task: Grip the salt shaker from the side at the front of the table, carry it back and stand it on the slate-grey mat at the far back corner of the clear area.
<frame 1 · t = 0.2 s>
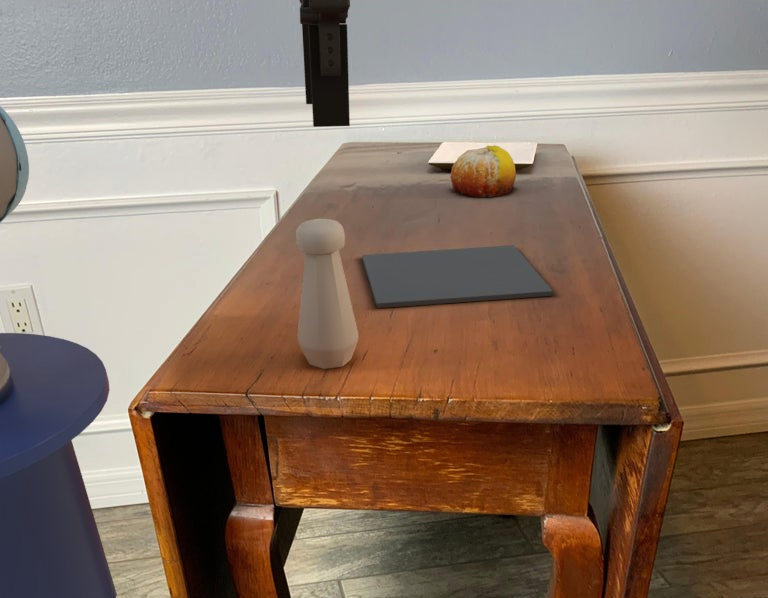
hand: (326, 114, 65), 21 cm above the table, tool pointing down, fingers open, 13 cm apart
salt shaker: (329, 361, 77), on the table
fruit: (481, 191, 131), on the table
corner mat: (450, 276, 96), on the table
plate: (484, 164, 149), on the table
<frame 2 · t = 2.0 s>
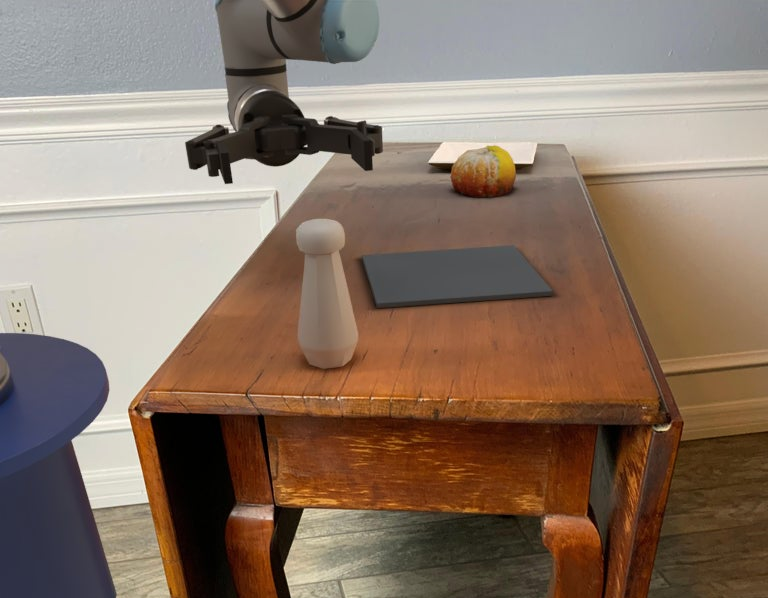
hand: (298, 162, 75), 16 cm above the table, tool horizontal, fingers open, 13 cm apart
nothing on the table moved.
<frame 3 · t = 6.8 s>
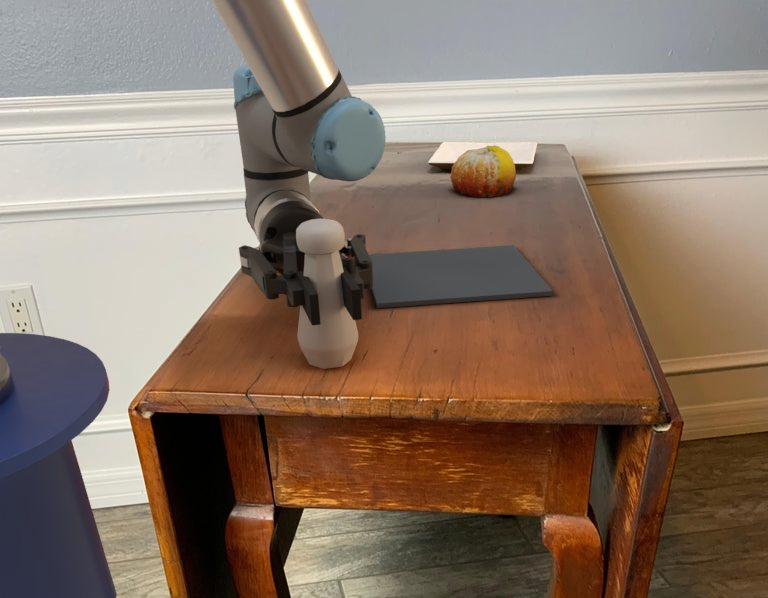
hand: (336, 307, 68), 7 cm above the table, tool horizontal, fingers closed on salt shaker, 3 cm apart
salt shaker: (329, 361, 77), on the table, touching gripper
everything else where it was.
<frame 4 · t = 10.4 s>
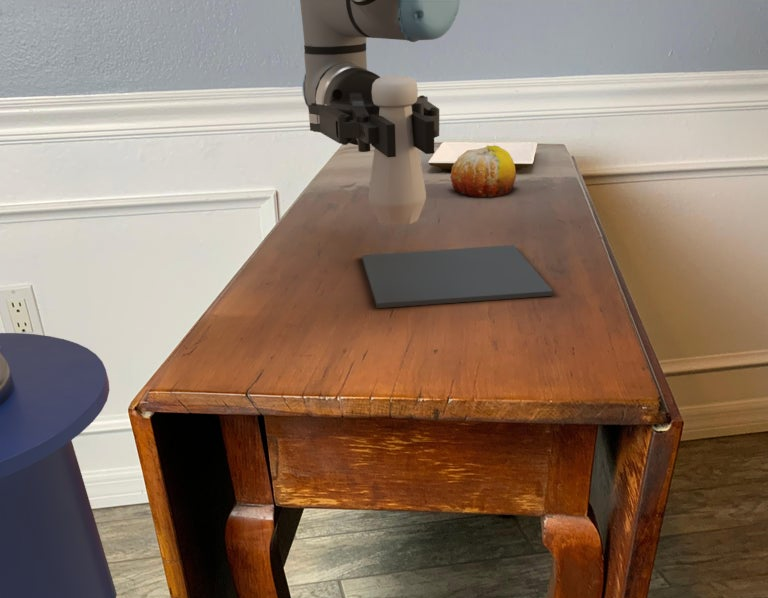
hand: (410, 139, 72), 18 cm above the table, tool horizontal, fingers closed on salt shaker, 3 cm apart
salt shaker: (397, 222, 81), point 10 cm above the table, touching gripper
everything else where it was.
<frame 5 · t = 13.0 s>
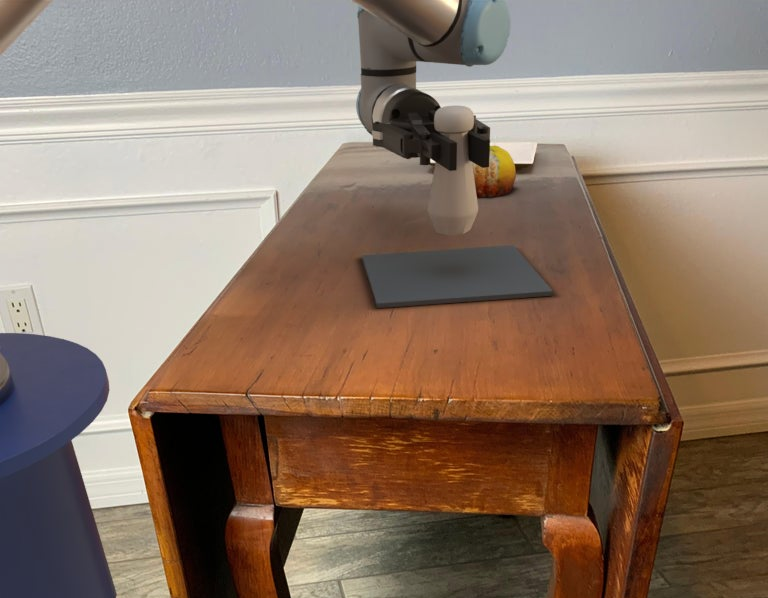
hand: (469, 155, 83), 15 cm above the table, tool horizontal, fingers closed on salt shaker, 3 cm apart
salt shaker: (452, 231, 93), point 5 cm above the table, touching gripper
everything else where it was.
when the fingers open (10 cm above the table, at t = 14.4 s): salt shaker stays where it is, resting on corner mat.
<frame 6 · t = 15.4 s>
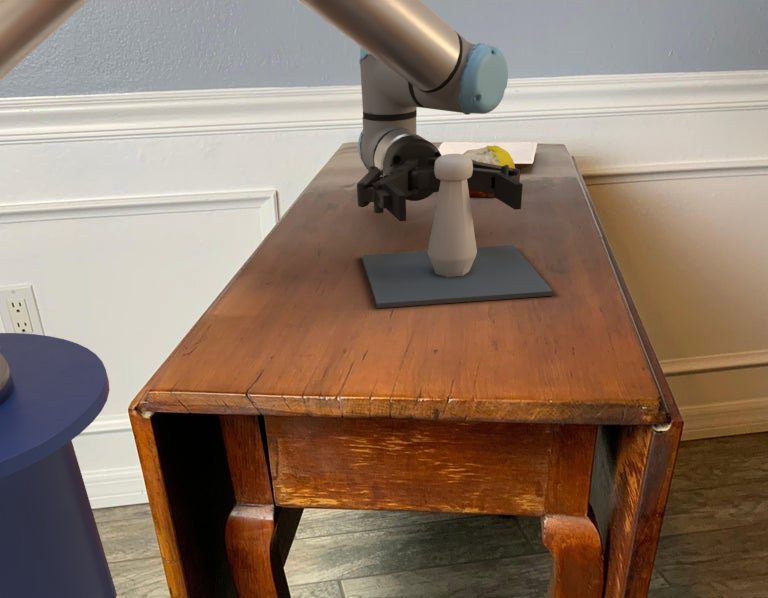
hand: (461, 202, 88), 9 cm above the table, tool horizontal, fingers open, 13 cm apart
salt shaker: (451, 273, 96), resting on corner mat
everything else where it was.
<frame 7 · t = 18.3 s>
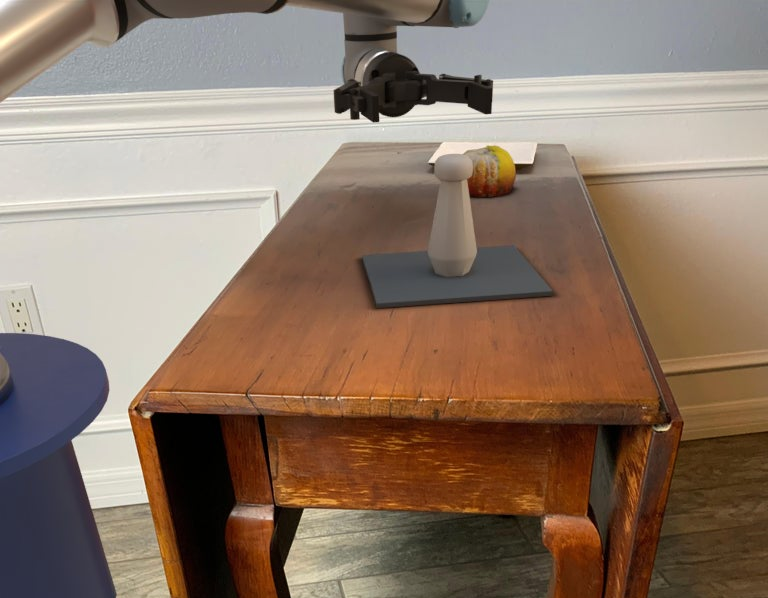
hand: (433, 105, 91), 18 cm above the table, tool horizontal, fingers open, 13 cm apart
nothing on the table moved.
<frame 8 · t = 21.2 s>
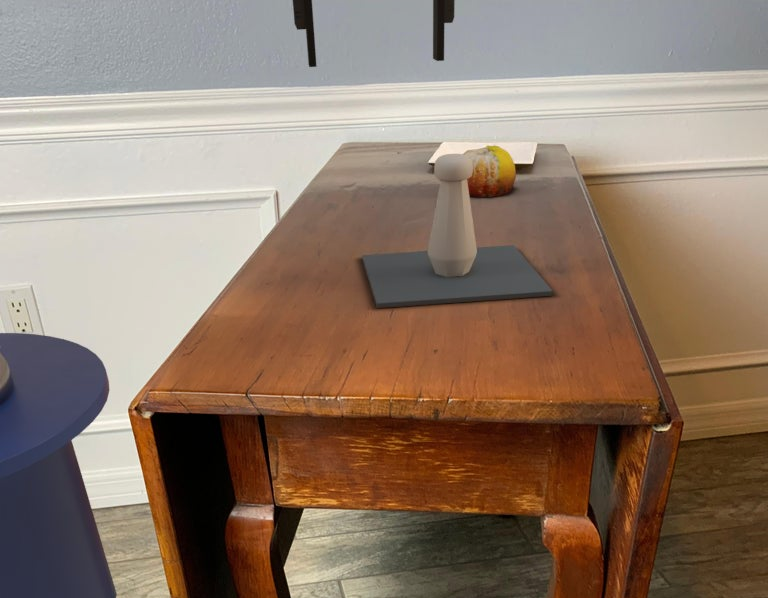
hand: (375, 63, 85), 23 cm above the table, tool pointing down, fingers open, 13 cm apart
nothing on the table moved.
at the end: salt shaker inside the target area on the corner mat (0.1 cm from its centre), point 0.4 cm above the corner mat's base; salt shaker tilted 0°; the gripper is holding nothing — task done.
